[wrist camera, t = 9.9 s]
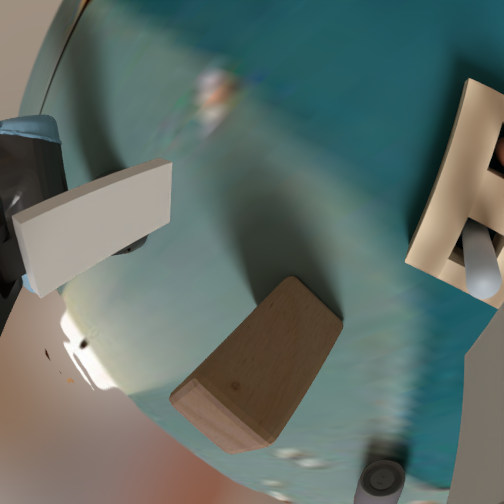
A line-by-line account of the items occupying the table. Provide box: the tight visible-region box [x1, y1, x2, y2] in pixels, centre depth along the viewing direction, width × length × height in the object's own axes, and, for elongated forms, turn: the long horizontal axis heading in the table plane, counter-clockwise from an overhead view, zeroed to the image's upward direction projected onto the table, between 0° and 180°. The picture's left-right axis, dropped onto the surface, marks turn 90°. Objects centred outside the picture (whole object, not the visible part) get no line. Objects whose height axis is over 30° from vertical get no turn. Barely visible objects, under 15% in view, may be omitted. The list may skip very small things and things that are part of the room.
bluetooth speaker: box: [354, 460, 405, 504], centre depth 46 cm, size 23×9×10 cm, turn 11°
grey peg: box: [461, 219, 502, 299], centre depth 23 cm, size 3×3×10 cm
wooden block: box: [169, 276, 343, 454], centre depth 36 cm, size 10×10×20 cm
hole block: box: [405, 78, 504, 309], centre depth 22 cm, size 12×18×4 cm, turn 168°
